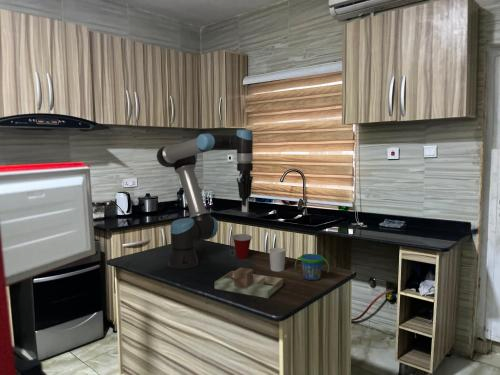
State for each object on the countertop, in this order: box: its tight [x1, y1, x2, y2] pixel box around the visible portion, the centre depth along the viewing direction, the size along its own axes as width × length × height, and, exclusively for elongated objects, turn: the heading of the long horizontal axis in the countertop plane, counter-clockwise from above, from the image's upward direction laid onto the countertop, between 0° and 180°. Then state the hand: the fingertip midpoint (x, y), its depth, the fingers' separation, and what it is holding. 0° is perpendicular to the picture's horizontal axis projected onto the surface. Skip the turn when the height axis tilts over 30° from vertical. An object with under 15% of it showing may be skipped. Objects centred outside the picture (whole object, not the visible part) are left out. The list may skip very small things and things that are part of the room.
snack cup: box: [294, 253, 330, 281], centre depth 174 cm, size 16×10×10 cm
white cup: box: [268, 247, 286, 273], centre depth 187 cm, size 8×8×10 cm
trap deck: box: [214, 270, 284, 299], centre depth 164 cm, size 25×16×3 cm, turn 64°
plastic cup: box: [232, 233, 253, 260], centre depth 208 cm, size 11×11×12 cm
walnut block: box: [233, 267, 254, 288], centre depth 159 cm, size 6×6×6 cm
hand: (245, 211), depth 182 cm, fingers closed
